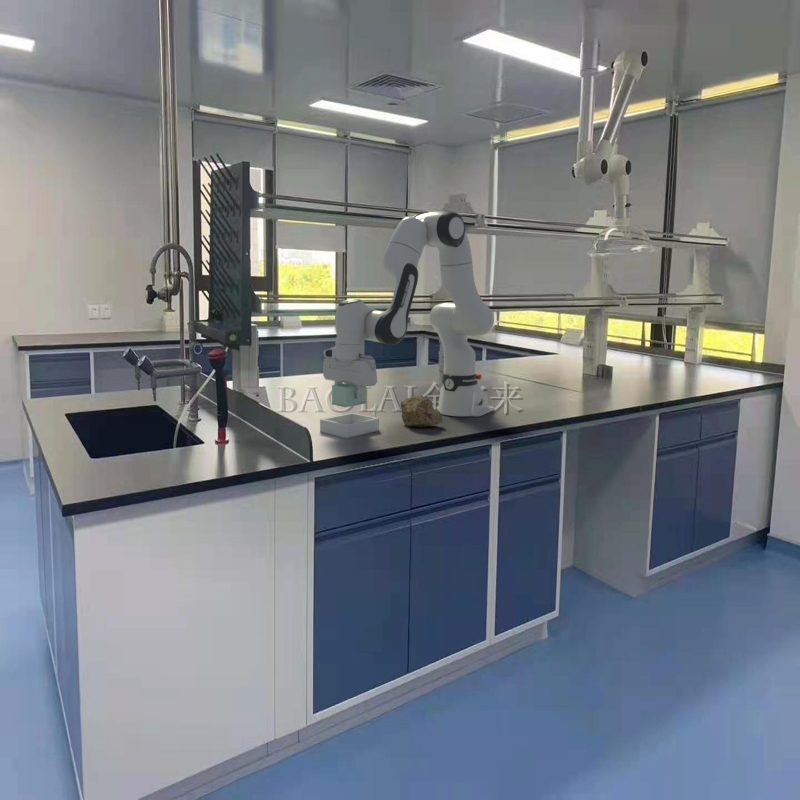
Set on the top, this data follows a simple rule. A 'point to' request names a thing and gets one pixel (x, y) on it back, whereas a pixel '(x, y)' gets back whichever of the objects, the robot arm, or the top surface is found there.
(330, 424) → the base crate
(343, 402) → the box
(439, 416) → the rock
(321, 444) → the top surface
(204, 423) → the top surface
